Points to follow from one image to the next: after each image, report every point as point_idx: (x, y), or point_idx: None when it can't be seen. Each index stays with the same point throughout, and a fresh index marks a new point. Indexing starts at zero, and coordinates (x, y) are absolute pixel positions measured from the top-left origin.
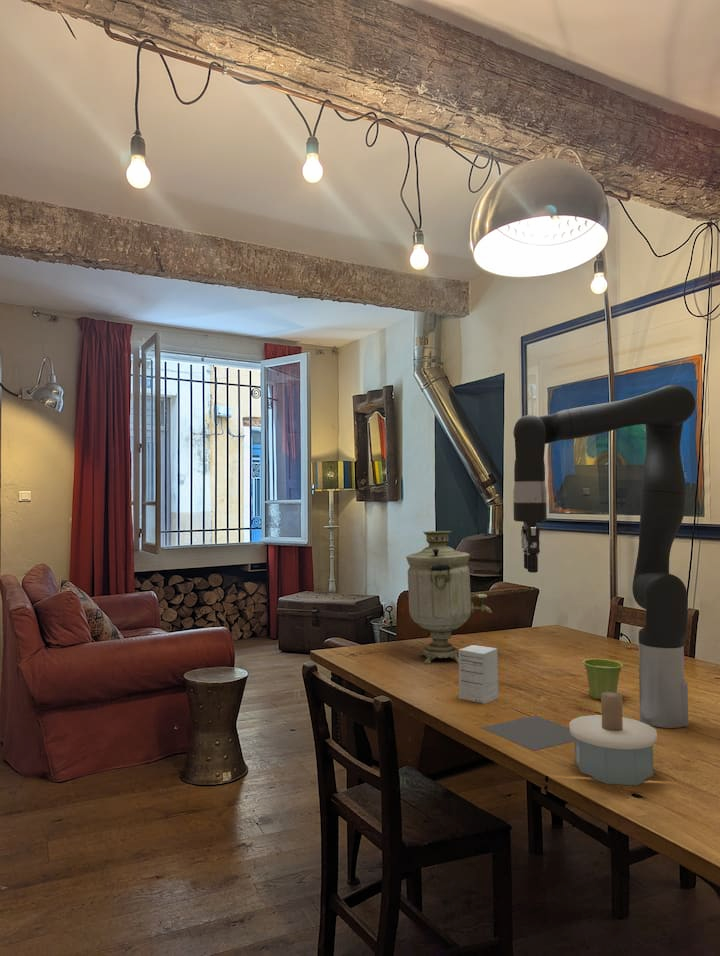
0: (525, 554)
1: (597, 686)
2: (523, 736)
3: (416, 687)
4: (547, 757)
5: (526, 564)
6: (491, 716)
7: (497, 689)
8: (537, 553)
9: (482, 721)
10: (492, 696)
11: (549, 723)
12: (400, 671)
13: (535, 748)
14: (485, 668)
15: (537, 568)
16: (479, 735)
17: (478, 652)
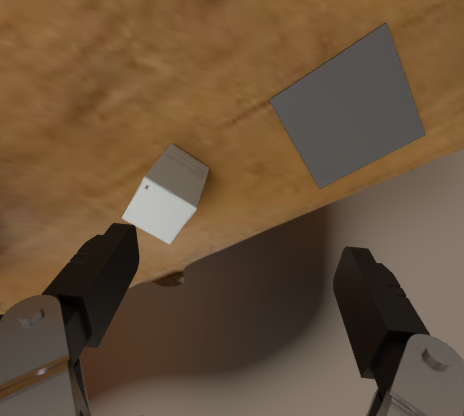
0: (98, 334)
1: None
2: (366, 138)
3: None
4: (443, 118)
5: (128, 272)
6: (261, 165)
7: (169, 149)
8: (459, 364)
9: (284, 180)
10: (188, 157)
11: (310, 84)
12: (57, 258)
13: (417, 131)
14: (198, 191)
15: (373, 261)
16: (340, 191)
17: (187, 216)
